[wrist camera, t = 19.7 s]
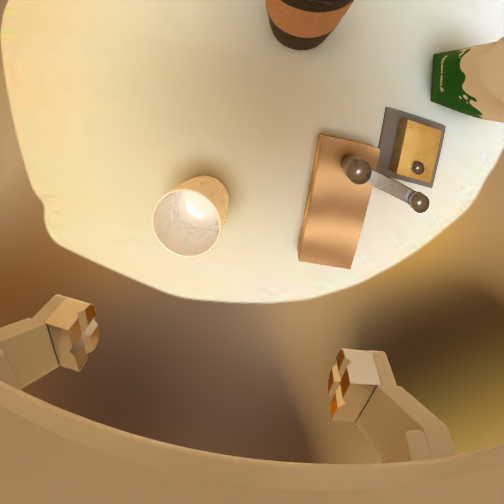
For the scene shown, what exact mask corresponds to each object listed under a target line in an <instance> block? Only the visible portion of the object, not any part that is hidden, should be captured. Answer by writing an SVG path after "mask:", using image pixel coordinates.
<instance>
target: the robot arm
mask: <svg viewBox="0 0 504 504" xmlns="http://www.w3.org/2000/svg"><path fill="white" fill-rule="evenodd" d="M95 316H96V310H95V306H93V305H92V304H89V303H86V302H82V301H79V300H76V299H72V298H68V297H65V296H62V295H55V296H54V297H53V298H52V299H51V300H50V301H49V302H48V303H47V304H46V305H45V306H44V307H43V308H42V309H41V310H40V311H39V312H38V313H37V314H36V315H35V316H34V317H33V318H32V319H31V318H27V319H24V320H22V321H18V322H16V323H13V324H10V325H7V326H4V327H2V328H0V504H504V445H500V446H496V447H492V448H487V449H483V450H479V451H474V452H469V453H464V454H458V455H457V454H456V451H455V448H454V445H453V442H452V439H451V436H450V433H449V430H448V428H447V426H445V424H443V423H442V422H441V421H440V420H439V419H438V418H436V417H435V416H434V415H433V414H432V413H431V412H430V411H428V410H427V409H426V408H425V407H424V406H423V405H421V404H420V403H419V402H418V401H417V400H416V399H415V398H414V397H412V396H411V395H410V394H409V393H408V392H407V391H406V390H404V389H403V388H402V387H401V386H397V385H396V382H395V379H394V376H393V373H392V371H391V368H390V365H389V362H388V359H387V356H386V354H385V352H383V351H363V350H352V349H340V350H339V352H338V354H337V356H336V361H337V364H336V365H335V366H333V367H332V369H331V371H330V374H329V379H328V395H329V396H330V397H331V398H332V400H331V402H330V404H329V406H330V414H331V420H333V421H348V422H356V424H357V426H358V427H359V428H360V430H361V431H362V432H363V434H364V435H365V436H366V437H367V439H368V440H369V441H370V443H371V444H372V445H373V447H374V448H375V449H376V451H377V452H378V453H379V455H380V456H381V457H382V458H383V461H382V462H381V463H375V464H309V463H292V462H279V461H268V460H258V459H250V458H243V457H235V456H228V455H222V454H217V453H211V452H205V451H200V450H195V449H190V448H186V447H181V446H176V445H172V444H168V443H164V442H160V441H156V440H152V439H149V438H145V437H141V436H138V435H134V434H131V433H128V432H124V431H121V430H118V429H115V428H112V427H109V426H106V425H103V424H100V423H97V422H94V421H92V420H89V419H86V418H83V417H80V416H78V415H75V414H73V413H70V412H68V411H65V410H63V409H61V408H58V407H56V406H53V405H51V404H49V403H47V402H44V401H42V400H40V399H38V398H35V397H33V396H31V395H29V394H27V393H25V392H23V391H21V389H22V388H23V387H25V386H27V385H29V384H30V383H32V382H34V381H35V380H37V379H39V378H40V377H42V376H44V375H45V374H47V373H49V372H50V371H52V370H54V369H55V368H57V367H59V365H60V366H63V367H66V368H69V369H73V370H75V371H80V370H81V368H82V367H83V365H84V363H85V362H86V360H87V353H89V352H91V351H93V350H94V348H95V347H96V345H97V341H98V338H99V327H98V324H97V323H96V322H95V320H94V317H95Z"/></svg>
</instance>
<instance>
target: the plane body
mask: <svg viewBox="0 0 504 504" xmlns="http://www.w3.org/2000/svg"><path fill="white" fill-rule="evenodd" d="M379 153H380V149H379V148H376V147H374V146H372V145H368V144H364V143H359V142H355V141H351V140H346V139H341V138H337V137H332V136H327V135H322V134H319V139H318V145H317V151H316V156H315V162H314V167H313V173H312V178H311V183H310V188H309V194H308V199H307V204H306V209H305V214H304V219H303V224H302V229H301V234H300V238H299V243H298V248H297V249H298V258H299V261H301V262H308V263H314V264H320V265H327V266H333V267H340V268H346V269H350V268H351V265H352V262H353V258H354V255H355V251H356V248H357V244H358V240H359V237H360V233H361V229H362V225H363V222H364V218H365V214H366V210H367V206H368V202H369V198H370V194H371V189H372V185H370V184H368V183H364V184H360V185H359V184H355V183H353V182H352V181H351V180H350V179H349V178H348V177H347V176H346V175H345V174H344V172H343V163H344V161H345V160H346V159H347V158H348V157H350V156H358V157H360V158H362V159H363V160H365V161H366V162H368V163H369V165H370V166H371V169H374V170H376V167H377V163H378V158H379Z"/></svg>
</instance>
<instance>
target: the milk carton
mask: <svg viewBox="0 0 504 504" xmlns="http://www.w3.org/2000/svg"><path fill="white" fill-rule="evenodd" d="M431 101H432V102H435V103H438V104H441V105H443V106H446V107H448V108H451V109H453V110H456V111H459V112H461V113H464V114H467V115H470V116H473V117H477V118H480V119H486V120H492V121H498V122H504V37H503V38H501V39H500V40H498V41H497V42H493V43H488V44H483V45H478V46H474V47H469V48H465V49H460V50H455V51H449V52H444V53H439V54H434V63H433V81H432V95H431Z"/></svg>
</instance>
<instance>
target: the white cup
mask: <svg viewBox="0 0 504 504" xmlns="http://www.w3.org/2000/svg"><path fill="white" fill-rule="evenodd" d="M228 207H229V195H228V192H227V190H226V187H225V186H224V185H223V184H222V183H221V182H220V181H219V180H218V179H217V178H213V177H210V176H207V175H203V176H197V177H194V178H192V179H190V180H188V181H186V182H184V183H182V184H180V185H178V186H177V187H175V188H174V189H172V190H171V191H169V192H167V193H166V194H164V195H163V196H162V197H161V198H160V199H159V200H158V201H157V203H156V204H155V206H154V208H153V211H152V217H151V224H152V229H153V232H154V235H155V237H156V239H157V240H158V242H159V243H160V244H161V245H162V246H163V247H164V248H165V249H166V250H168V251H169V252H171V253H173V254H175V255H177V256H181V257H187V258H192V257H198V256H201V255H204V254H206V253H207V252H209V251H210V250H211V249H212V248H213V247H214V246H215V245H216V243H217V242H218V240H219V237H220V234H221V231H222V228H223V225H224V222H225V219H226V215H227V211H228Z"/></svg>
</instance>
